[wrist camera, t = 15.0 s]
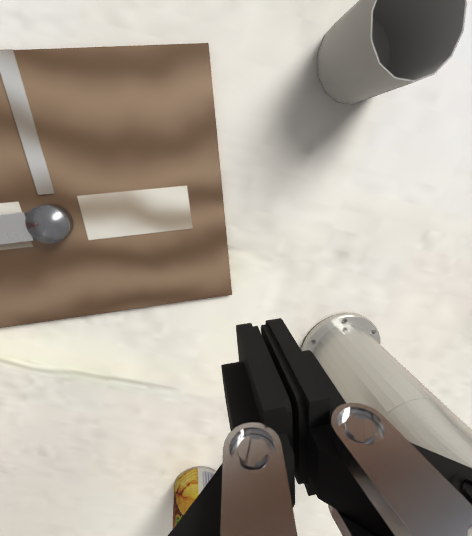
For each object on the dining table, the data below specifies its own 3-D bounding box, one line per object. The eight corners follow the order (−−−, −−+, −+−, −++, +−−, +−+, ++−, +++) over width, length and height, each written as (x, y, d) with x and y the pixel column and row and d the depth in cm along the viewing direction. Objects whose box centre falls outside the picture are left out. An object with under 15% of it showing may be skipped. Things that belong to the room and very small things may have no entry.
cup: (302, 73, 32) (349, 36, 23) (346, -4, 31) (417, -77, 21) (357, 118, 35) (420, 102, 26) (401, 50, 33) (485, 6, 24)
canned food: (166, 493, 50) (160, 586, 39) (187, 461, 49) (188, 549, 38) (206, 502, 53) (211, 593, 42) (228, 472, 51) (240, 558, 40)
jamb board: (231, 292, 40) (234, 301, 37) (-82, 337, 35) (-102, 350, 33) (207, 45, 30) (209, 35, 28) (-230, 61, 25) (-273, 50, 23)
